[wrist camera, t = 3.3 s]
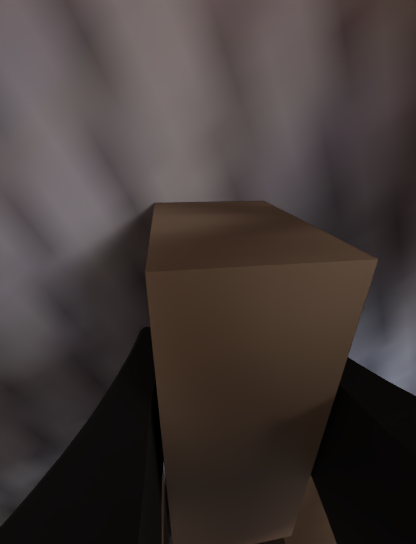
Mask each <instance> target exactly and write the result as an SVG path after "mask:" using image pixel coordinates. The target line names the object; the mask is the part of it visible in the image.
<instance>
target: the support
mask: <svg viewBox="0 0 416 544" xmlns="http://www.w3.org/2000/svg"><path fill="white" fill-rule="evenodd" d="M377 262H378V259H377V258H375V257H373V256H371V255H369V254H367V253H365V252H363V251H361V250H359V249H357V248H356V247H354V246H352V245H350V244H348V243H346V242H344V241H342V240H340V239H338V238H336V237H334V236H332V235H330V234H328V233H326V232H324V231H322V230H320V229H318V228H316V227H314V226H312V225H310V224H308V223H306V222H304V221H302V220H301V219H299V218H297V217H295V216H293V215H291V214H289V213H287V212H285V211H283V210H281V209H279V208H277V207H275V206H273V205H271V204H269V203H267V202H265V201H232V202H174V203H154V210H153V217H152V224H151V232H150V239H149V246H148V253H147V260H146V268H145V278H146V288H147V298H148V308H149V318H150V328H151V337H152V347H153V357H154V367H155V377H156V387H157V396H158V406H159V416H160V426H161V436H162V446H163V455H164V465H165V475H166V485H167V495H168V505H169V514H170V524H171V534H172V544H257V543H261V542H266V541H270V540H275V539H280V538H284V537H289V536H291V535H292V532H293V529H294V526H295V523H296V519H297V516H298V513H299V510H300V507H301V504H302V500H303V497H304V494H305V491H306V488H307V485H308V481H309V478H310V475H311V472H312V469H313V465H314V462H315V459H316V456H317V453H318V450H319V446H320V443H321V440H322V437H323V434H324V430H325V427H326V424H327V421H328V418H329V415H330V411H331V408H332V405H333V402H334V399H335V396H336V392H337V389H338V386H339V383H340V380H341V376H342V373H343V370H344V367H345V364H346V361H347V357H348V354H349V351H350V348H351V345H352V342H353V338H354V335H355V332H356V329H357V326H358V322H359V319H360V316H361V313H362V310H363V307H364V303H365V300H366V297H367V294H368V291H369V287H370V284H371V281H372V278H373V275H374V272H375V268H376V265H377Z"/></svg>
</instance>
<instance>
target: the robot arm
mask: <svg viewBox="0 0 416 544" xmlns="http://www.w3.org/2000/svg"><path fill="white" fill-rule="evenodd" d="M163 463H164V455H163V446H162V436H161V426H160V416H159V406H158V396H157V387H156V377H155V367H154V357H153V347H152V337H151V328H150V327H145V328H143V329H142V330H141V331H140V333H139V335H138V337H137V340H136V342H135V344H134V346H133V348H132V350H131V352H130V354H129V356H128V358H127V359H126V361H125V363H124V365H123V366H122V368H121V370H120V372H119V373H118V375H117V377H116V378H115V380H114V382H113V383H112V385H111V387H110V388H109V390H108V391H107V393H106V394H105V396H104V397H103V399H102V400H101V402H100V403H99V405H98V406H97V408H96V409H95V411H94V412H93V414H92V415H91V417H90V418H89V419H88V421H87V422H86V424H85V425H84V426H83V428H82V429H81V430H80V432H79V433H78V434H77V436H76V437H75V438H74V440H73V441H72V442H71V444H70V445H69V446H68V447H67V449H66V450H65V451H64V453H63V454H62V455H61V456H60V458H59V459H58V460H57V461H56V463H55V464H54V465H53V466H52V467H51V469H50V470H49V471H48V472H47V473H46V475H45V476H44V477H43V478H42V480H41V481H40V482H39V483H38V484H37V486H36V487H35V488H34V489H33V490H32V492H31V493H30V494H29V495H28V496H27V497H26V499H25V500H24V501H23V502H22V503H21V504H20V506H19V507H18V508H17V509H16V510H15V511H14V512H13V514H12V515H11V516H10V517H9V518H8V519H7V520H6V521H5V522H4V523H3V525H2V526H1V527H0V544H162V479H163ZM311 476H312V479H313V482H314V484H315V487H316V489H317V492H318V495H319V497H320V500H321V502H322V505H323V508H324V510H325V513H326V516H327V518H328V521H329V524H330V527H331V529H332V532H333V535H334V538H335V540H336V543H337V544H416V396H414V395H413V394H411V393H409V392H407V391H405V390H403V389H401V388H399V387H397V386H396V385H394V384H392V383H390V382H388V381H387V380H385V379H383V378H381V377H380V376H378V375H376V374H375V373H373V372H371V371H370V370H368V369H366V368H365V367H363V366H361V365H360V364H358V363H356V362H355V361H353V360H352V359H350V358H348V357H347V361H346V364H345V367H344V370H343V373H342V376H341V380H340V383H339V386H338V389H337V392H336V396H335V399H334V402H333V405H332V408H331V411H330V415H329V418H328V421H327V424H326V427H325V430H324V434H323V437H322V440H321V443H320V446H319V450H318V453H317V456H316V459H315V462H314V465H313V469H312V472H311Z"/></svg>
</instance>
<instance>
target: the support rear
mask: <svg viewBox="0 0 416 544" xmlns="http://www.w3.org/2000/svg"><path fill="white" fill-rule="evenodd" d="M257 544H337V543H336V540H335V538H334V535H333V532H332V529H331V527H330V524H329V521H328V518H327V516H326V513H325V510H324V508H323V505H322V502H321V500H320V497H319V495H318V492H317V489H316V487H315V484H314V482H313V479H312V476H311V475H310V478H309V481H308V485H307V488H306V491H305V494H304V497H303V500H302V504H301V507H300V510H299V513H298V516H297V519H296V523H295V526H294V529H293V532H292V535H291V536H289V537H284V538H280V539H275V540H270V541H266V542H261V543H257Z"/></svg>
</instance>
